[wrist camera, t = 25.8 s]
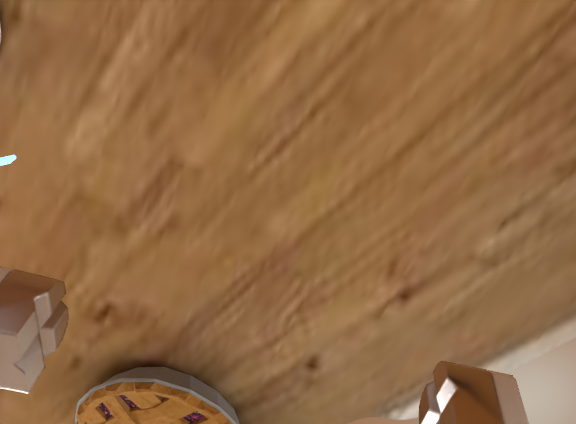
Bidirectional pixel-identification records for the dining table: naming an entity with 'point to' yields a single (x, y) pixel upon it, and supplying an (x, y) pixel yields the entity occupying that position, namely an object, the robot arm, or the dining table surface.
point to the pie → (154, 400)
